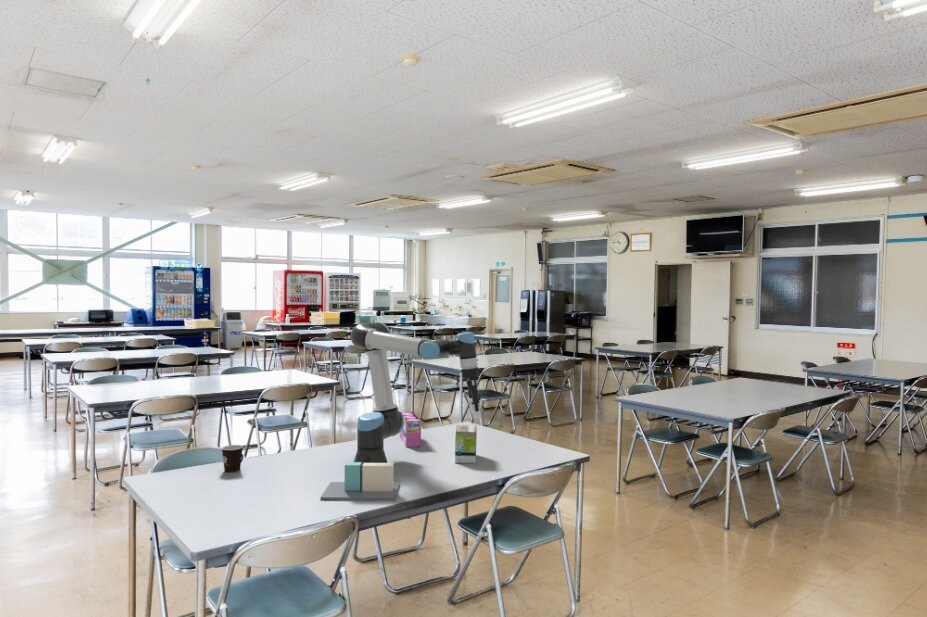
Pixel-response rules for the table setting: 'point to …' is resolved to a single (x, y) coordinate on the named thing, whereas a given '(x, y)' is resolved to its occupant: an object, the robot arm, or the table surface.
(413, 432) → the pink drink carton pack
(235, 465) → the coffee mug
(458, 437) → the tea box
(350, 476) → the stub
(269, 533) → the table surface
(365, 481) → the ticket stand
